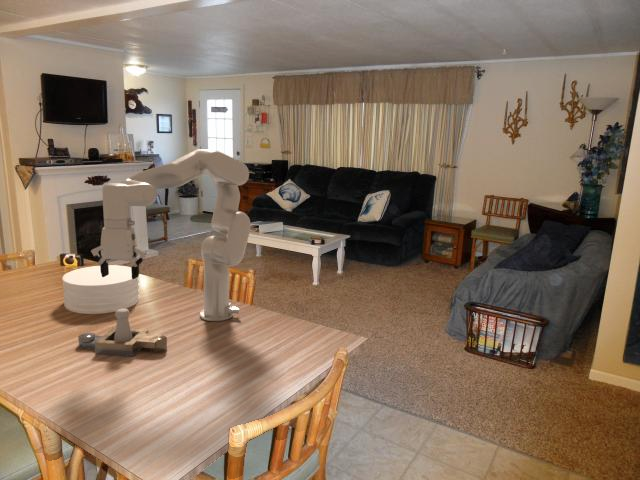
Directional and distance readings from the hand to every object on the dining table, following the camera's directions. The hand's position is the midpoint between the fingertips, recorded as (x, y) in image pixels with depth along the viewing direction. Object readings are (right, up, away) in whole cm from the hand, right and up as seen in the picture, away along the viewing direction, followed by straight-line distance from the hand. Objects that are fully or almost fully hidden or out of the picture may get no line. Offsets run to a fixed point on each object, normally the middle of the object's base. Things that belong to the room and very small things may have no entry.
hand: (120, 276), depth 149 cm
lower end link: (-5, -23, +5) cm, 24 cm away
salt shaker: (-1, -24, +5) cm, 24 cm away
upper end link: (+3, -24, +5) cm, 24 cm away
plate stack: (-26, -14, +45) cm, 53 cm away
